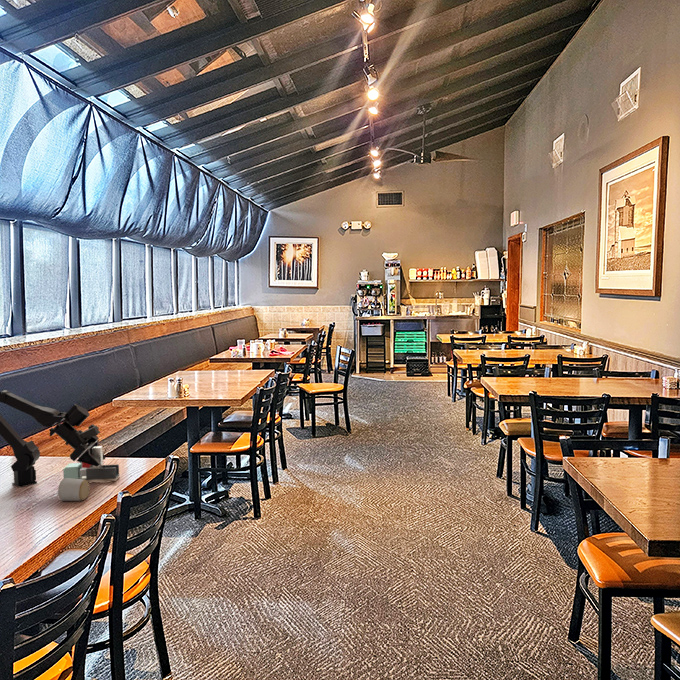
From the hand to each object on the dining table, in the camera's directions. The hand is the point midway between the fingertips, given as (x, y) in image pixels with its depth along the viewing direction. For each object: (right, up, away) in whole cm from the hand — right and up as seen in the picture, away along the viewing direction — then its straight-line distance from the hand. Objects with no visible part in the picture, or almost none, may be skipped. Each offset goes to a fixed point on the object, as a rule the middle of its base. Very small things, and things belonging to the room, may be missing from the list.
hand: (101, 462), depth 222 cm
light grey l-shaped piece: (-6, -5, 0) cm, 8 cm away
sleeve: (0, -6, 0) cm, 6 cm away
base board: (-4, -7, 0) cm, 8 cm away
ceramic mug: (-1, -9, -20) cm, 22 cm away
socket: (-11, -6, -1) cm, 12 cm away
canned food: (-12, -6, +17) cm, 22 cm away
